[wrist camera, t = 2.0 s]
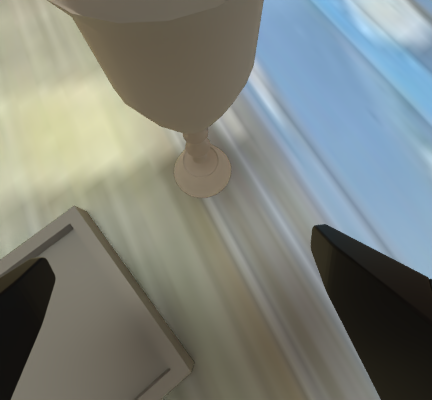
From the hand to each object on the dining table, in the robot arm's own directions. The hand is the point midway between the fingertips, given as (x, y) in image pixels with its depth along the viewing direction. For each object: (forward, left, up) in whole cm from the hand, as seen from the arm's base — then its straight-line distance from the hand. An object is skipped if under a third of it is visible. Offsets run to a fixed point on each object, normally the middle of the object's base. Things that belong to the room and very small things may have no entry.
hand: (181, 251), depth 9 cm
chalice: (+6, -5, -14) cm, 16 cm away
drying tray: (+2, +13, -13) cm, 19 cm away
